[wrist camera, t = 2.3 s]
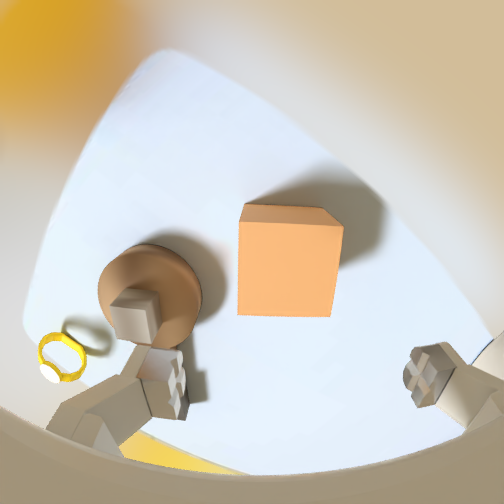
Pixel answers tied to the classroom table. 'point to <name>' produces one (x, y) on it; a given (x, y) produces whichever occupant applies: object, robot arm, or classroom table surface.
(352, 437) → the classroom table surface
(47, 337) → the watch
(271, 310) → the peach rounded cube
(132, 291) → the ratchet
